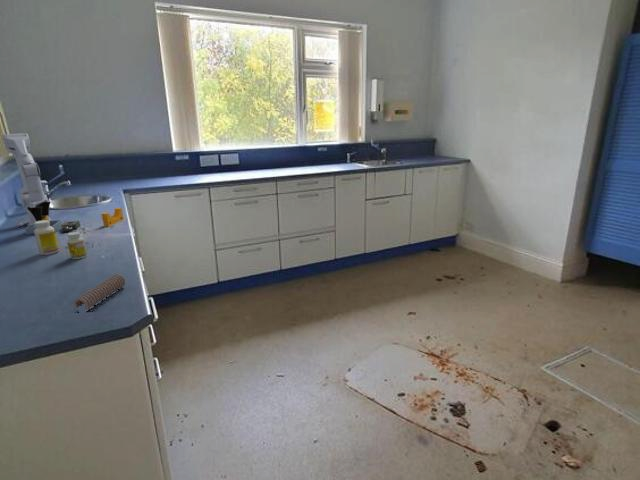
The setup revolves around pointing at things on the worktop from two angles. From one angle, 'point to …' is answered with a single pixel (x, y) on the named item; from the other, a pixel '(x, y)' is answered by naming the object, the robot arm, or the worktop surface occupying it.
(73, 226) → the block
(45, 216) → the orange rectangular block
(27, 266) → the worktop surface
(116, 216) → the pipe clamp
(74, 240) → the supplement bottle
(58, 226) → the tray
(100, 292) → the coil
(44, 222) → the supplement bottle
